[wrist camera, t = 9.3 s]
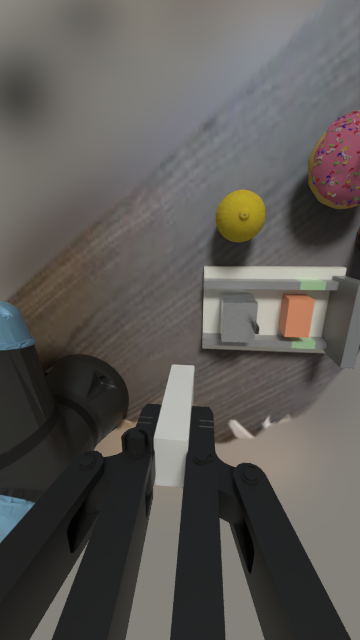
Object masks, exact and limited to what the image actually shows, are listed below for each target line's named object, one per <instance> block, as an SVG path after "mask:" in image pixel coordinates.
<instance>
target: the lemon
mask: <svg viewBox="0 0 360 640" xmlns="http://www.w3.org/2000/svg"><path fill="white" fill-rule="evenodd" d="M265 218H266V209H265V205H264V203H263V201H262V199H261V198H260V197H259V196H258V195H257V194H256V193H254V192H252V191H248V190H237V191H234V192H232V193H230V194H229V195H227V196H226V197H225V198H224V199H223V200H222V201H221V203H220V204H219V206H218V209H217V212H216V225H217V228H218V230H219V232H220V233H221V234H222V236H223V237H225V238H226V239H227V240H230V241H233V242H244V241H247V240H250V239H252V238H253V237H254V236H256V235H257V234H258V233H259V231H260V230H261V229H262V227H263V225H264V222H265Z"/></svg>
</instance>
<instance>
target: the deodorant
mask: <svg viewBox="0 0 360 640" xmlns="http://www.w3.org/2000/svg"><path fill="white" fill-rule="evenodd" d="M357 245H358V248H359V250H360V227H359V230H358V233H357Z"/></svg>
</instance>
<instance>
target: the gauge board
mask: <svg viewBox="0 0 360 640" xmlns="http://www.w3.org/2000/svg"><path fill="white" fill-rule="evenodd" d="M346 269H347V268H345V267H294V266H204V301H203V337H202V348H204V349H229V350H254V351H280V352H305V353H326V354H327V355H328V356H329V357H330V358H331V359H332V360H333V361H334V362H335V363H336V364H337V365H338V366H339V367H340V368H354V365H355V361H356V357H357V353H358V349H359V345H360V280H357V279H354V278H351V277H347V276H345V274H346ZM221 293H227V294H252V295H253V297H254V298H255V300H256V301H257V302H258V311H257V321H256V322H257V324H258V326H259V334H255V342H254V343H244V342H221V333H220V314H221ZM283 294H306V295H308V296H310V297H311V298H313V299H315V303H314V309H313V315H312V321H311V327H310V333H309V338H302V337H284V336H283V334H282V333H281V332H280V330H279V329H278V328H279V320H280V312H281V304H282V296H283Z"/></svg>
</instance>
